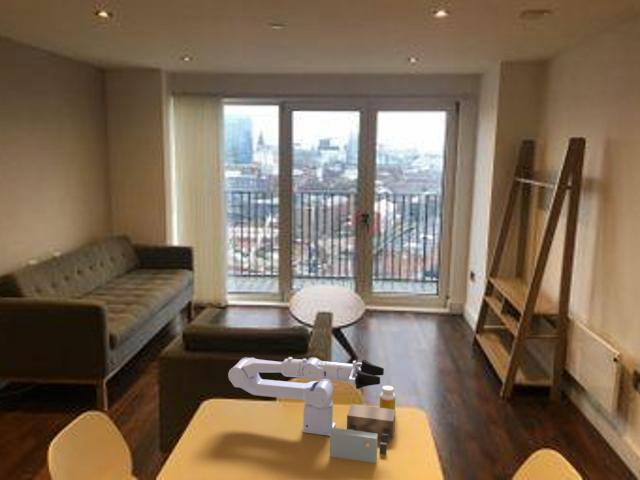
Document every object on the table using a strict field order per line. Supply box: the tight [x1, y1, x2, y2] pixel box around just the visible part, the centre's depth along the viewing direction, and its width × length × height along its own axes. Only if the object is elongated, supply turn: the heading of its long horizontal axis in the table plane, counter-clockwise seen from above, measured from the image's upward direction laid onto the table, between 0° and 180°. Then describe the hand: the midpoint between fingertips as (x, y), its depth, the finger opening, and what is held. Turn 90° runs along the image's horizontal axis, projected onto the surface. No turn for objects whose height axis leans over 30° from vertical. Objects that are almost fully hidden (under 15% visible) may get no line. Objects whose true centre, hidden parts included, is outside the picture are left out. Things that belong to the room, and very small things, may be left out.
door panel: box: [329, 427, 379, 464], centre depth 166 cm, size 14×4×8 cm, turn 77°
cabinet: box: [346, 403, 397, 455], centre depth 178 cm, size 15×17×6 cm
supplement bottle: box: [379, 385, 396, 410], centre depth 193 cm, size 5×5×10 cm
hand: (381, 376), depth 174 cm, fingers open, 7 cm apart
